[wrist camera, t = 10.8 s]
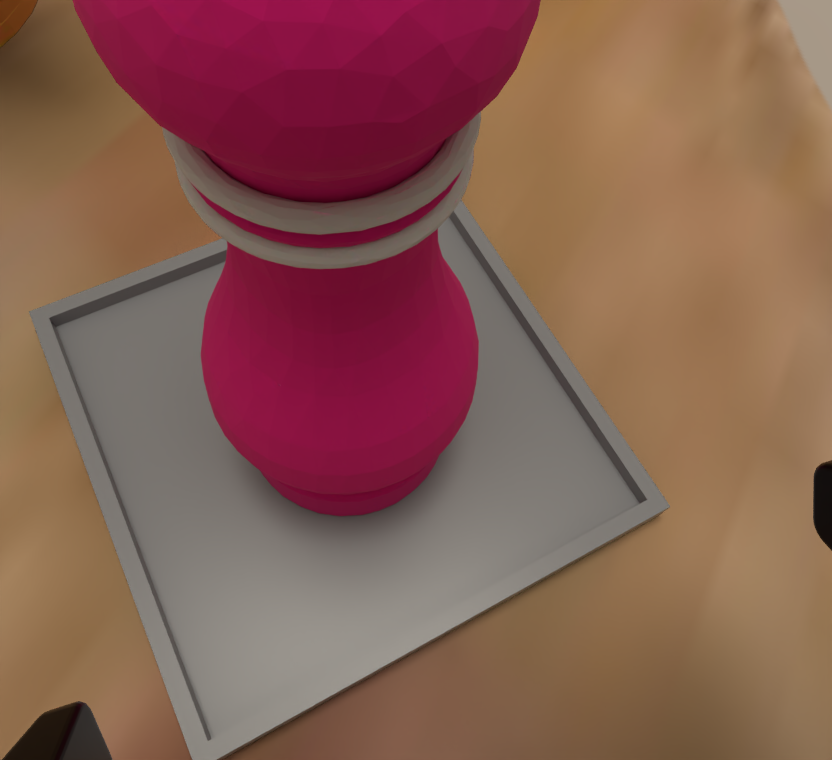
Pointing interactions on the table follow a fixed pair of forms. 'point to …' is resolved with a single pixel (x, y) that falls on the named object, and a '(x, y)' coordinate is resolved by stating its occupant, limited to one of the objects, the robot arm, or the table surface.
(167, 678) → the tray
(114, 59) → the pepper mill
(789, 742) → the table surface
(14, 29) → the decorative plant
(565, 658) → the table surface
